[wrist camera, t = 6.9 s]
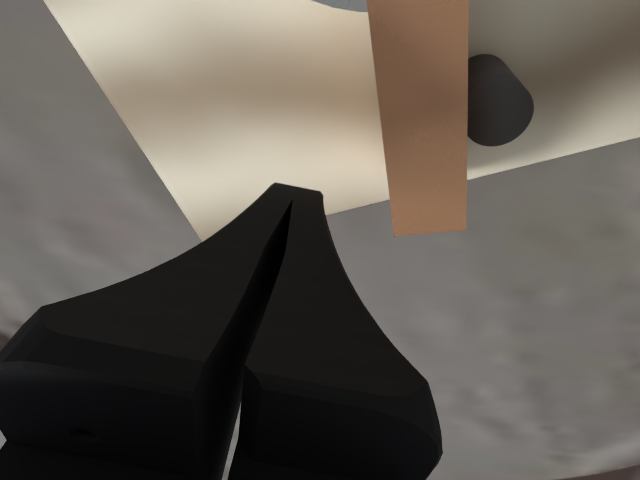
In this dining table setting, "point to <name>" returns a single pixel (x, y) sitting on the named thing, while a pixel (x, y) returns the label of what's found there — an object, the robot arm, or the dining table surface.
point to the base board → (342, 91)
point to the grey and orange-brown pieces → (421, 107)
